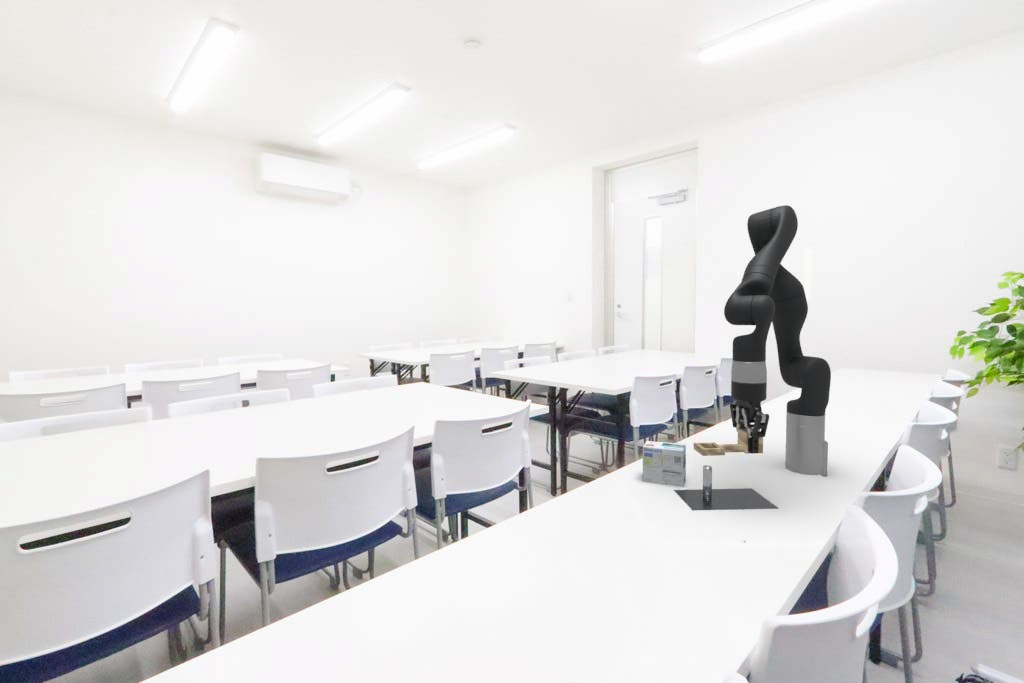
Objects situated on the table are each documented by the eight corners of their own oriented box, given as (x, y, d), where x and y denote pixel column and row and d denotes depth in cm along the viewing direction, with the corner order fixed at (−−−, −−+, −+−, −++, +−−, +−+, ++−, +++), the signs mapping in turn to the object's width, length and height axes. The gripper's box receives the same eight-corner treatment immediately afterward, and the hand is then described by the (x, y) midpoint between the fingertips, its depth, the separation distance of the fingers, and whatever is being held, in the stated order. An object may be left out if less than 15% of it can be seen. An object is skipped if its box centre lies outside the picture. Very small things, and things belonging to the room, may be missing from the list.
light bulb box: (686, 482, 126) (686, 443, 125) (684, 491, 120) (684, 450, 119) (645, 477, 130) (646, 439, 130) (641, 485, 124) (642, 446, 123)
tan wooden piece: (752, 447, 114) (752, 427, 114) (764, 454, 109) (764, 433, 108) (693, 449, 114) (693, 429, 113) (702, 455, 108) (703, 434, 108)
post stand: (751, 492, 118) (752, 457, 118) (779, 512, 106) (779, 474, 106) (673, 493, 118) (673, 459, 117) (692, 514, 106) (692, 476, 105)
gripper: (782, 383, 103) (781, 459, 104) (748, 374, 117) (747, 441, 118) (748, 384, 103) (748, 460, 104) (719, 375, 117) (718, 442, 118)
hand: (747, 449), depth 111 cm, fingers closed on tan wooden piece, 4 cm apart
